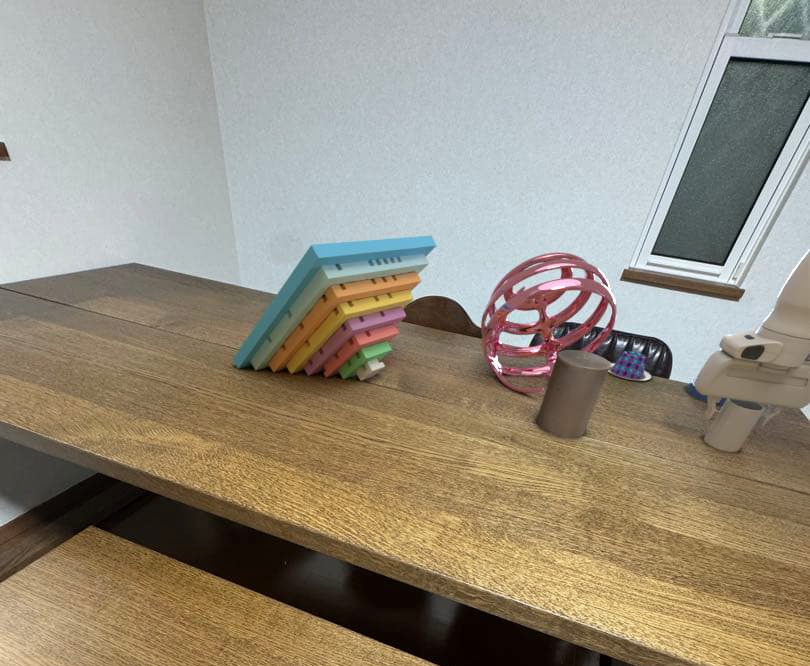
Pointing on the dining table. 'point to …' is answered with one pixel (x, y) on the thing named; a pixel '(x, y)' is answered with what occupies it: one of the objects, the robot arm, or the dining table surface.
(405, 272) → the rainbow stepped pyramid
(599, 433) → the dining table surface
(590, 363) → the pillar candle
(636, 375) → the pudding
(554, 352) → the spiral basket
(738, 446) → the cup
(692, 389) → the tape ring
